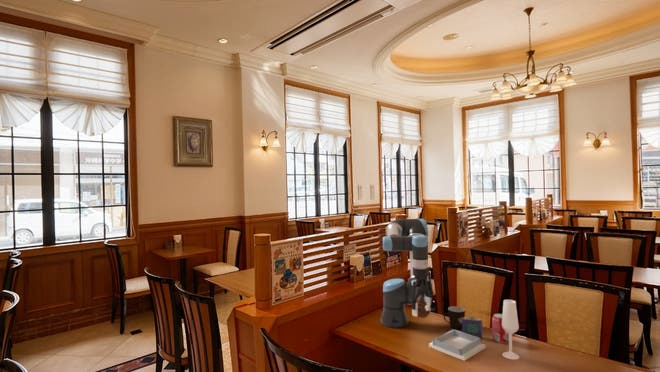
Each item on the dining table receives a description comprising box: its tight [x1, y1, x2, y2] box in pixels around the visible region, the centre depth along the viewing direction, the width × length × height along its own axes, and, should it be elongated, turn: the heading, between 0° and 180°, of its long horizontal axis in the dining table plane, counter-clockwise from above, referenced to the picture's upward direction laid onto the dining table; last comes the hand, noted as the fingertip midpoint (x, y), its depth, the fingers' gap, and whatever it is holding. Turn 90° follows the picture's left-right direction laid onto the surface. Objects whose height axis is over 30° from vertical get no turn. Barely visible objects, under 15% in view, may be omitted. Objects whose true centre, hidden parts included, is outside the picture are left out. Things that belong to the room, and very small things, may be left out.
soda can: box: [491, 313, 509, 344], centre depth 172 cm, size 7×7×12 cm
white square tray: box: [428, 329, 486, 362], centre depth 166 cm, size 18×18×4 cm
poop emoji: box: [414, 295, 431, 319], centre depth 174 cm, size 10×8×9 cm
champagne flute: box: [501, 299, 520, 360], centre depth 157 cm, size 7×7×24 cm
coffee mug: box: [443, 306, 466, 331], centre depth 188 cm, size 12×9×10 cm
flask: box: [462, 314, 484, 339], centre depth 177 cm, size 9×3×11 cm, turn 74°
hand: (421, 313), depth 174 cm, fingers closed on poop emoji, 10 cm apart
